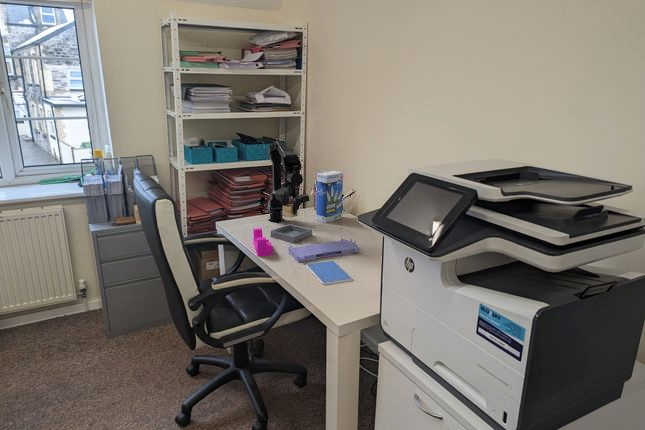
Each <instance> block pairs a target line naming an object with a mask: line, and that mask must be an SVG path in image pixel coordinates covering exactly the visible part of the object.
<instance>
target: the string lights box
mask: <svg viewBox="0 0 645 430" xmlns="http://www.w3.org/2000/svg"><path fill="white" fill-rule="evenodd" d="M343 184H344V171H343V172H342V171H337V170H331V171H330V170H329V171H324V172H319V173H317V174H316V202H315V203H316V206H315V207H316V209H315V210H316V211H315V212H316V213H315V221H317V222H321V223H325V224H327V223H331V222H334V221H338V220H341V219H342V215H343V213H342V212H343V211H342V208H343V187H344V185H343Z"/></svg>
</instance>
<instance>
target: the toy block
mask: <svg viewBox="0 0 645 430" xmlns="http://www.w3.org/2000/svg"><path fill="white" fill-rule="evenodd" d="M252 232H253V233H252V235H253V237H252V238H253V240H252V241H253V242H252V244H253V246H254V250H255V253H256V256H257V257H266V256H273V243H272V242H271V241H270V240H269V239H267V238H266V237H265V236H264V237H263V229H262V228H261V227H260V228H259V227H257V228H253V229H252Z"/></svg>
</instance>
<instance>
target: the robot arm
mask: <svg viewBox="0 0 645 430" xmlns="http://www.w3.org/2000/svg"><path fill="white" fill-rule="evenodd" d="M267 155H268V159H269V160H270V161H271V165H272V166H271V167H272V168H271V169H272V170H271V171H272V175H271V176H272V191H271V193H270V194H269V199H268V202H267V210H268V211H269V218H268V219H267V220H268V221H269V222H273V223H275V224H276V223H277V224H278V223H281V222H283V221H285V218H284V216H283V206H284V205H287V204H290V203H289V201H290V199H293V200H294V201H291V204H293V214H294V215H296V213H297V210H299V208H300V206H301V205H302V204H304V203H307V202H310V196H309V195H308V194H303V193H302V194H299V191H297V187H298V186H301V184H302V183H303V181H304V176H303V175H302V174H301V173H300V171H302V163H301V159H300V157H299V156H298V153H296V152H293V151H291V149H290V148H289V147H288V145H287V143H286V141H285V140H276V141H274V143H272V144H270V145H269V146H268V147H267ZM282 168H283V174H284V175H283V182H284V183H282Z"/></svg>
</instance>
